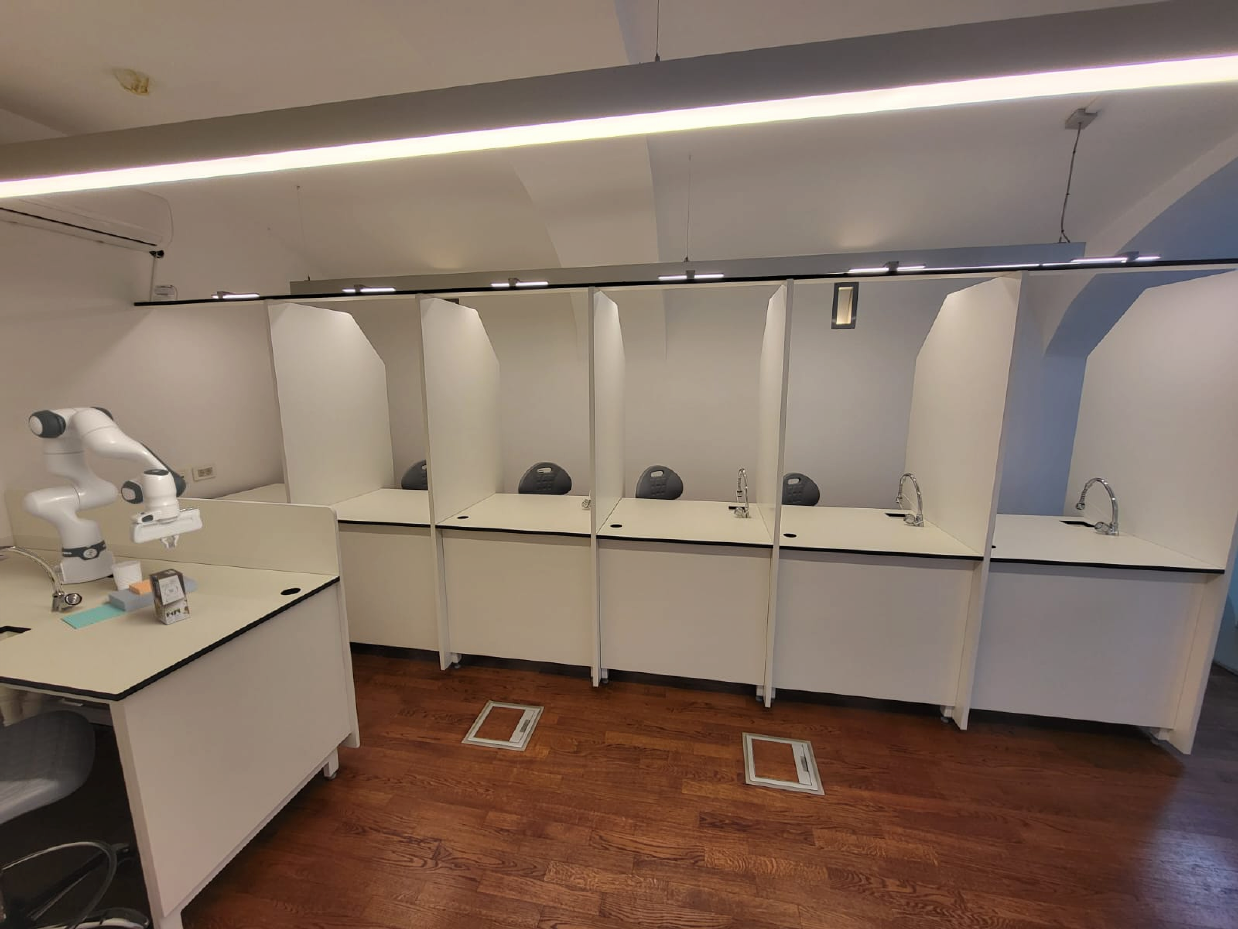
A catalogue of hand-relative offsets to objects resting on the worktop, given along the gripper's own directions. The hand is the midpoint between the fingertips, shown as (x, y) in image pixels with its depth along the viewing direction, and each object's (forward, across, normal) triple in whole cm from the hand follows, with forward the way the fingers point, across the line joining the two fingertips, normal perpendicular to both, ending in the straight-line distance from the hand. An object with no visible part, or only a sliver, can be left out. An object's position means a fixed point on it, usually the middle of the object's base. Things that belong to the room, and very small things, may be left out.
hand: (171, 547), depth 180 cm
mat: (+17, +23, 0) cm, 29 cm away
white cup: (+17, +8, -19) cm, 27 cm away
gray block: (+17, +7, 0) cm, 19 cm away
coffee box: (+18, +11, +26) cm, 34 cm away
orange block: (+13, +9, 0) cm, 16 cm away
